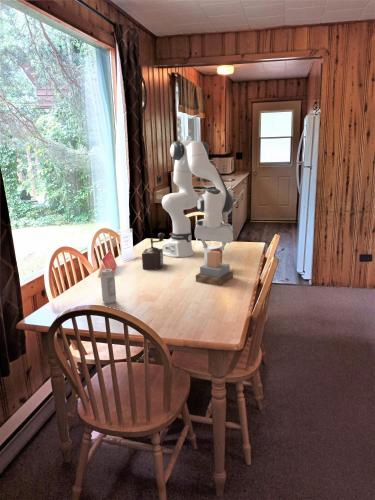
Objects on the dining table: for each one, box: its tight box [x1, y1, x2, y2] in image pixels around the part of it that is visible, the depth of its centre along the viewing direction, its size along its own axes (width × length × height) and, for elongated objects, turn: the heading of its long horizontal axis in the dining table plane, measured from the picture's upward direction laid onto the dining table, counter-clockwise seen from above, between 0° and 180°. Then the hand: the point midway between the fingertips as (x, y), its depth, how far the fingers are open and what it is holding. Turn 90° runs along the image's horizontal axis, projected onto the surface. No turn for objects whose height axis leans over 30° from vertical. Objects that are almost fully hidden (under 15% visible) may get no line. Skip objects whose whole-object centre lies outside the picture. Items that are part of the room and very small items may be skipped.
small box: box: [203, 244, 223, 265], centre depth 221 cm, size 8×6×13 cm
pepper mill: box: [141, 232, 165, 270], centre depth 232 cm, size 16×11×18 cm
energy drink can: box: [100, 268, 117, 304], centre depth 181 cm, size 6×6×15 cm
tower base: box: [195, 270, 234, 287], centre depth 207 cm, size 14×14×4 cm
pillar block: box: [207, 251, 221, 268], centre depth 205 cm, size 5×5×7 cm
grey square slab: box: [199, 262, 231, 278], centre depth 207 cm, size 11×11×4 cm
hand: (213, 249), depth 203 cm, fingers open, 8 cm apart
